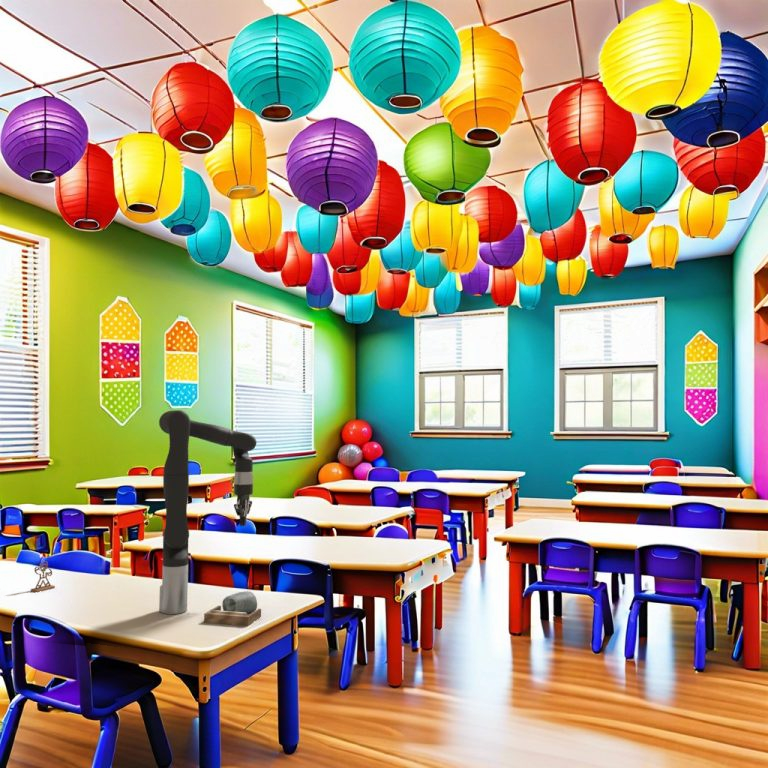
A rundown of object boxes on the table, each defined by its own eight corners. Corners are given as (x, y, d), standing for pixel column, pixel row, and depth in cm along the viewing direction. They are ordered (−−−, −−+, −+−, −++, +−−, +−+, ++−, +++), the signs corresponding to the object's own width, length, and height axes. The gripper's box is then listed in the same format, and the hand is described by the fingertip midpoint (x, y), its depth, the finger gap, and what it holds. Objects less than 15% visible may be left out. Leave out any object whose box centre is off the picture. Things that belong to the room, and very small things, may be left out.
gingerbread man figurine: (49, 587, 291) (50, 558, 292) (55, 588, 290) (56, 559, 290) (30, 591, 283) (31, 562, 284) (36, 592, 282) (37, 563, 282)
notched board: (203, 622, 242) (204, 611, 242) (218, 613, 253) (218, 603, 253) (248, 625, 238) (248, 615, 239) (261, 617, 249) (261, 607, 249)
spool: (231, 613, 242) (230, 585, 248) (217, 620, 248) (216, 593, 253) (263, 615, 251) (262, 588, 256) (248, 623, 256) (247, 596, 262)
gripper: (242, 481, 285) (241, 523, 284) (227, 483, 273) (226, 527, 272) (258, 481, 284) (258, 523, 283) (245, 484, 271) (244, 528, 270)
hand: (242, 525), depth 277 cm, fingers closed
